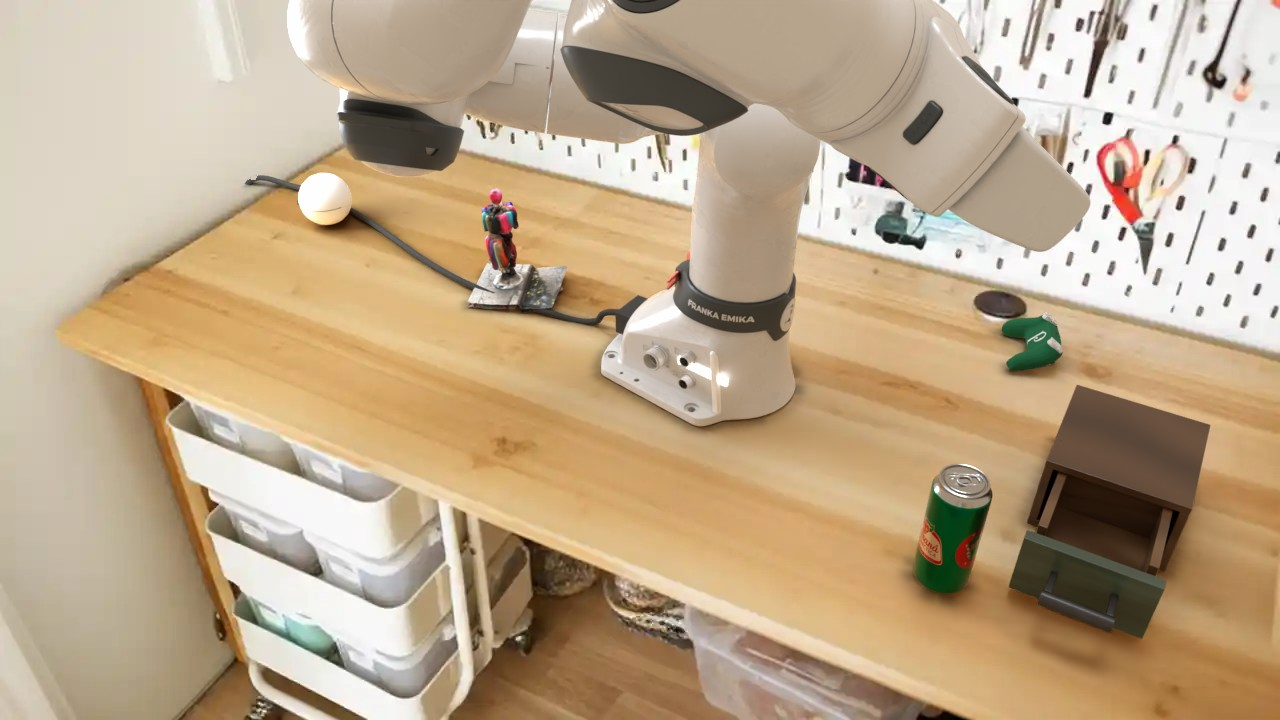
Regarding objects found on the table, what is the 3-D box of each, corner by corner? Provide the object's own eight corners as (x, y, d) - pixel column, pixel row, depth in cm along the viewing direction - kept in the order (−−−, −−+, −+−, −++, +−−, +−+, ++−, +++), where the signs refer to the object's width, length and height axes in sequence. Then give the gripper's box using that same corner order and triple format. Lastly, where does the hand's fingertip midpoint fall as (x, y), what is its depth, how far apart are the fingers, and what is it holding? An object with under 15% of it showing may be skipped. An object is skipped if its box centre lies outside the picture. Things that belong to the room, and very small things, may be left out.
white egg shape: (323, 206, 153) (314, 160, 149) (366, 215, 151) (358, 169, 147) (279, 237, 146) (269, 189, 142) (324, 247, 144) (315, 199, 139)
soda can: (904, 558, 98) (926, 461, 91) (957, 555, 98) (983, 458, 91) (921, 599, 94) (945, 502, 87) (975, 596, 94) (1004, 498, 87)
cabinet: (1164, 572, 97) (1192, 509, 92) (1026, 522, 102) (1046, 460, 97) (1184, 486, 106) (1210, 424, 102) (1057, 444, 112) (1076, 384, 107)
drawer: (1134, 673, 87) (1156, 622, 83) (996, 617, 91) (1012, 567, 88) (1164, 547, 98) (1185, 498, 95) (1040, 504, 103) (1056, 455, 99)
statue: (470, 315, 133) (443, 210, 124) (490, 276, 140) (466, 174, 131) (553, 315, 130) (532, 208, 122) (569, 275, 138) (550, 171, 129)
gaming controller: (1022, 388, 122) (1069, 364, 119) (1004, 366, 121) (1051, 341, 118) (1015, 344, 130) (1060, 320, 127) (998, 323, 129) (1042, 298, 125)
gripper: (753, 27, 63) (887, 108, 72) (939, 231, 50) (1075, 300, 59) (820, -65, 60) (951, 32, 69) (1034, 126, 47) (1162, 214, 56)
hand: (1009, 157), depth 64 cm, fingers open, 8 cm apart
